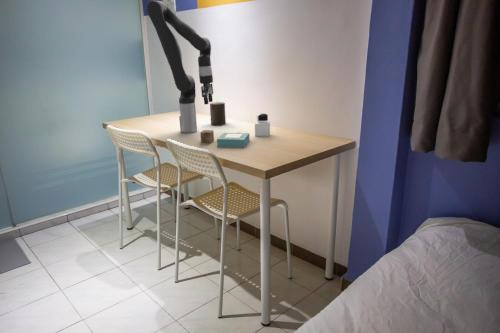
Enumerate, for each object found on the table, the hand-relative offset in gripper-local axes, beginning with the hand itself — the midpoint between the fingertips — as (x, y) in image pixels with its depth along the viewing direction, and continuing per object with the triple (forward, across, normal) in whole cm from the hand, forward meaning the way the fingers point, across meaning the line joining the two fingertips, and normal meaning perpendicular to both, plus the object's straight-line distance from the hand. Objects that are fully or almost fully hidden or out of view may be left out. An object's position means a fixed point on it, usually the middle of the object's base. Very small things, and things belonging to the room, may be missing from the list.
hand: (208, 103), depth 217 cm
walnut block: (+18, +23, +5) cm, 29 cm away
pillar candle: (+18, -23, -2) cm, 29 cm away
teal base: (+18, +25, +20) cm, 37 cm away
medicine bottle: (+19, +5, +32) cm, 37 cm away
